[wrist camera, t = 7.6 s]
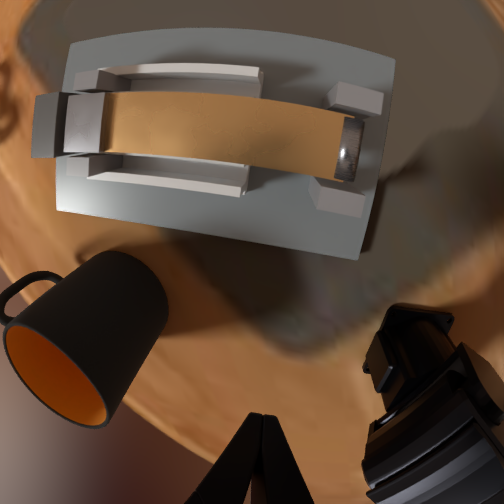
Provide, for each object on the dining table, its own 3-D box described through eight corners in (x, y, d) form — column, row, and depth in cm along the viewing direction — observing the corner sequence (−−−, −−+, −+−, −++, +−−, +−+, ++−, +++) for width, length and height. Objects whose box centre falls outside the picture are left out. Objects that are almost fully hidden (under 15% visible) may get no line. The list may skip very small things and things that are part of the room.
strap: (361, 121, 12) (370, 119, 11) (350, 181, 13) (358, 186, 12) (82, 97, 13) (66, 96, 11) (77, 149, 14) (61, 152, 12)
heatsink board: (390, 62, 14) (431, 36, 8) (354, 254, 19) (378, 300, 13) (78, 46, 15) (25, 31, 9) (64, 206, 20) (12, 230, 14)
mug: (57, 216, 20) (-38, 265, 11) (181, 278, 21) (114, 378, 11) (51, 294, 23) (-18, 355, 14) (157, 353, 24) (108, 445, 14)
